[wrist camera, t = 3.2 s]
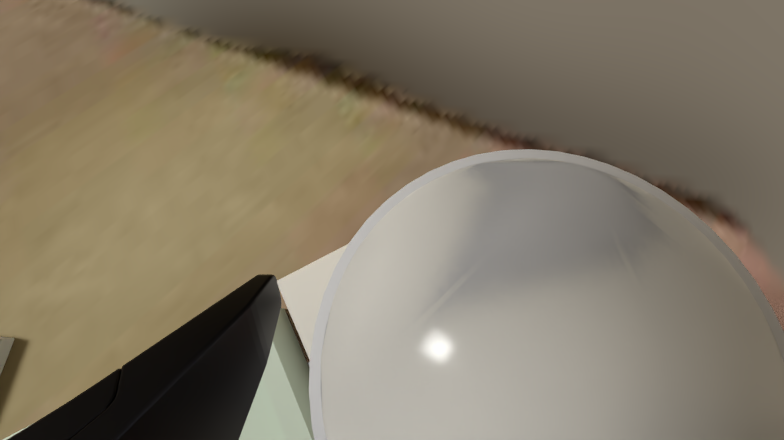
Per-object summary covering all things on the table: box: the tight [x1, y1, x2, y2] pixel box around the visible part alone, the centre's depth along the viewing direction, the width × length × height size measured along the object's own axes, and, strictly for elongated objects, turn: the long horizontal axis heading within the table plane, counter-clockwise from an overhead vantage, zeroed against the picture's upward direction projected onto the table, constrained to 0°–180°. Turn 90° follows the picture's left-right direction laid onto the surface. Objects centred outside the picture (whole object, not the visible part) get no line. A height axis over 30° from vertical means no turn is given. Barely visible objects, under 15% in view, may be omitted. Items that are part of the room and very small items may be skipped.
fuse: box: [309, 149, 784, 440], centre depth 8 cm, size 4×4×11 cm
